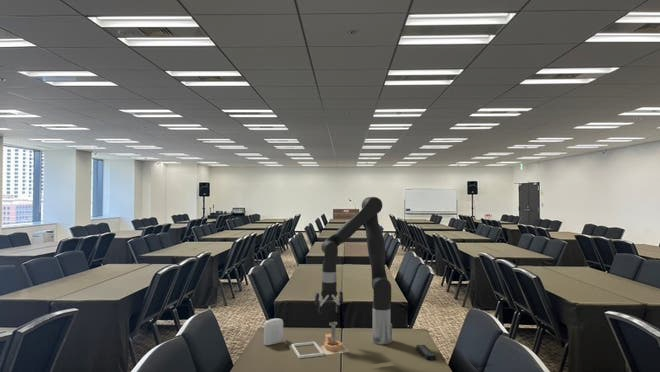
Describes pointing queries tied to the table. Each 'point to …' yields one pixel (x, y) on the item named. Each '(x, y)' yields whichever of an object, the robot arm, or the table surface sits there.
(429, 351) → the multiport hub
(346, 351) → the stake board
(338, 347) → the terracotta ring
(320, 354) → the white tray
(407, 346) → the table surface
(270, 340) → the photo printer
